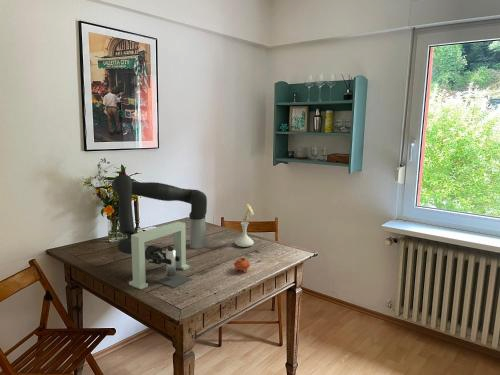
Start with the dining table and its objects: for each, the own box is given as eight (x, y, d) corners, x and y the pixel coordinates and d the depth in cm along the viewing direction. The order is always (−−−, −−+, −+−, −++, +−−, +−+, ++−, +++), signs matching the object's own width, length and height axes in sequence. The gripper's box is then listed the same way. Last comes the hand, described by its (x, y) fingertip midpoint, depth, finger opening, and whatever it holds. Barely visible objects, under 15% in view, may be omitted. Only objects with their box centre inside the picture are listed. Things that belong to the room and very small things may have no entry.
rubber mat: (156, 281, 164) (156, 280, 164) (174, 273, 173) (174, 272, 173) (173, 288, 158) (173, 287, 158) (191, 279, 167) (191, 278, 167)
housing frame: (128, 284, 160) (126, 234, 156) (178, 263, 185) (177, 220, 181) (140, 289, 156) (138, 238, 152) (189, 267, 180) (189, 223, 176)
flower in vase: (247, 249, 207) (248, 207, 203) (230, 246, 213) (231, 205, 209) (258, 243, 219) (259, 203, 214) (242, 240, 224) (243, 201, 220)
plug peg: (174, 272, 169) (174, 243, 166) (176, 275, 165) (176, 246, 162) (165, 273, 167) (164, 244, 164) (167, 277, 163) (166, 248, 161)
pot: (254, 269, 179) (252, 257, 177) (243, 277, 174) (242, 265, 171) (242, 264, 184) (240, 253, 182) (231, 272, 179) (230, 260, 177)
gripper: (137, 248, 166) (162, 257, 157) (161, 241, 178) (186, 248, 168) (138, 264, 168) (163, 273, 158) (161, 255, 179) (186, 263, 169)
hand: (175, 260), depth 163 cm, fingers closed on plug peg, 4 cm apart
